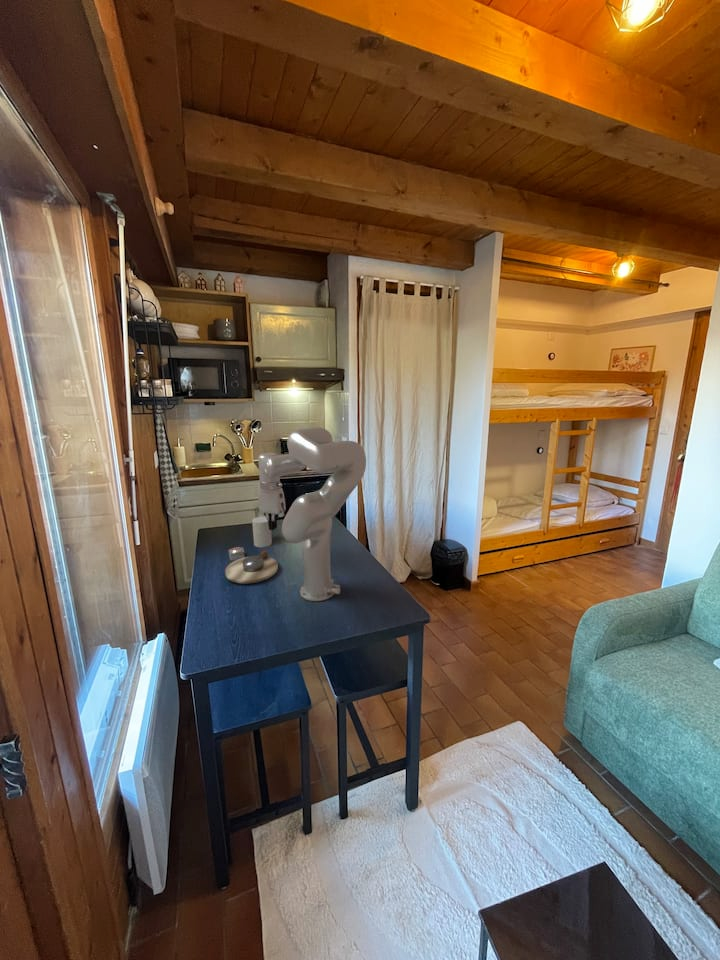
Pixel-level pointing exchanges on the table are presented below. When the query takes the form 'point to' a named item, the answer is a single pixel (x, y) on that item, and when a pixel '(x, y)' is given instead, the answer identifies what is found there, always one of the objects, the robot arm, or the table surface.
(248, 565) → the disc
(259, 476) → the robot arm
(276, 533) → the table surface
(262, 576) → the turntable
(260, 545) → the cup
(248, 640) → the table surface
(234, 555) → the dial gauge
